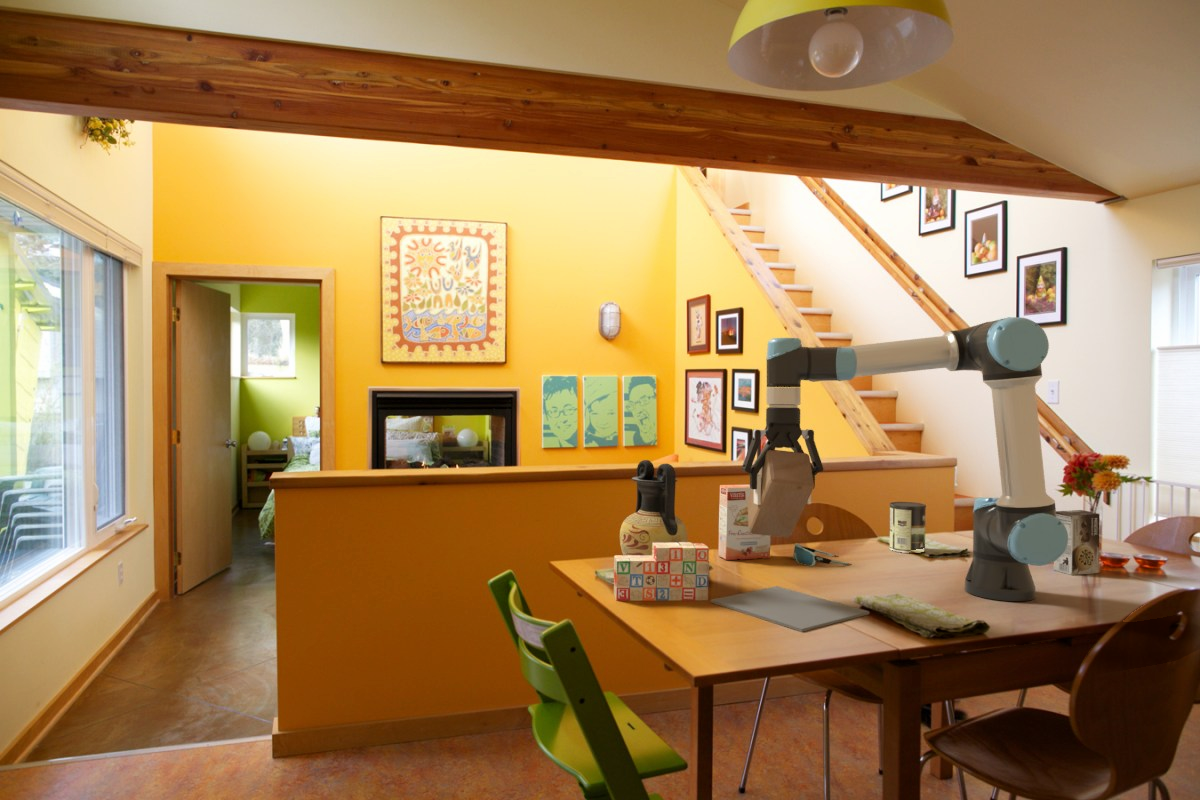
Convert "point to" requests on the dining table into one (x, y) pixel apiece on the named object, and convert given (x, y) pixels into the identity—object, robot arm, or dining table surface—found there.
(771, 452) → the wooden block
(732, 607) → the mat
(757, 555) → the cracker box
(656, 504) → the amphora
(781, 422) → the robot arm
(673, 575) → the stack of blocks
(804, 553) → the sunglasses
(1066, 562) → the grey food carton
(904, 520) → the coffee can
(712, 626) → the dining table surface
